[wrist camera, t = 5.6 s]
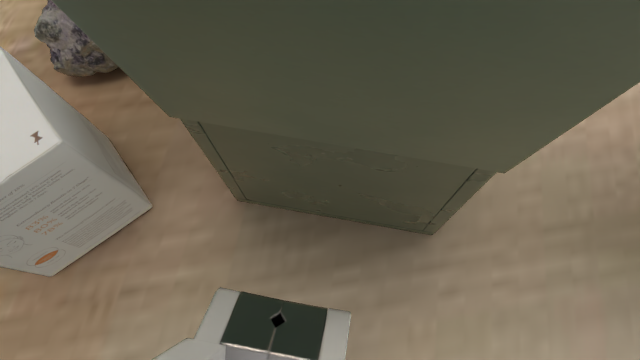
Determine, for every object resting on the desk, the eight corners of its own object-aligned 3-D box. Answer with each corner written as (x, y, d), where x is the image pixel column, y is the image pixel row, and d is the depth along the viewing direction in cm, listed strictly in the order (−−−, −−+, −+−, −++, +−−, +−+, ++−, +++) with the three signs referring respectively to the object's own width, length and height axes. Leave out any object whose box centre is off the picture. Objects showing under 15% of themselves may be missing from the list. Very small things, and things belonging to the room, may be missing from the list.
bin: (282, 4, 41) (254, -182, 26) (459, 31, 40) (534, -145, 25) (236, 200, 37) (174, 112, 22) (432, 235, 36) (502, 167, 21)
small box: (108, 135, 38) (-1, 38, 26) (155, 207, 37) (65, 141, 24) (4, 203, 37) (-163, 136, 25) (49, 280, 36) (-104, 251, 23)
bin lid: (-243, -368, 6) (-269, -310, 6) (995, -227, 5) (997, -157, 5) (173, 98, 22) (168, 117, 22) (507, 153, 21) (504, 173, 21)
